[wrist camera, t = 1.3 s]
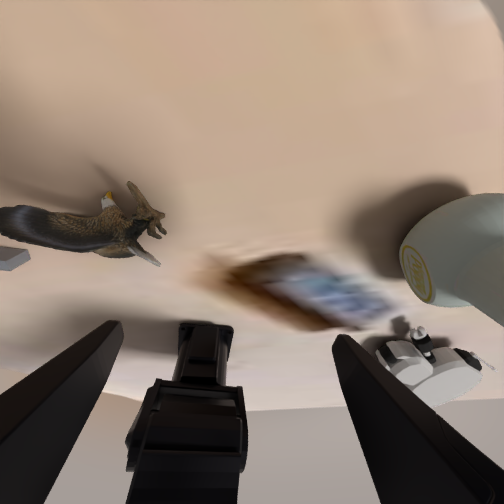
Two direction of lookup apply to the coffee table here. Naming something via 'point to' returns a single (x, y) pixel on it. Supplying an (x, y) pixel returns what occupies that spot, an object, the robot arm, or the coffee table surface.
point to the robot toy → (431, 368)
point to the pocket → (12, 258)
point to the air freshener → (459, 255)
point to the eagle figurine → (86, 228)
